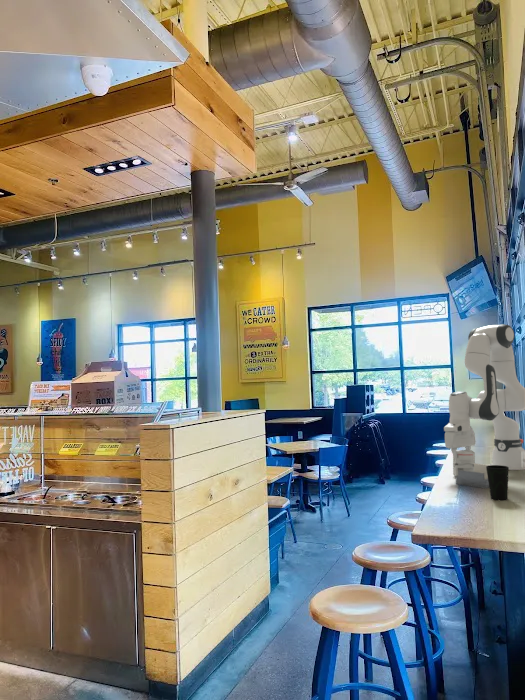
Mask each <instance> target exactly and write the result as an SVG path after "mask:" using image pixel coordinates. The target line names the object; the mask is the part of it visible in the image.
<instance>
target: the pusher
mask: <svg viewBox="0 0 525 700" xmlns="http://www.w3.org/2000/svg"><path fill="white" fill-rule="evenodd" d="M489 465H490V464H484V463H476V462H475V464H474V472H479V473H484V478H485V479H487V478H488V475H487V469H486V466H489Z"/></svg>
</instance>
